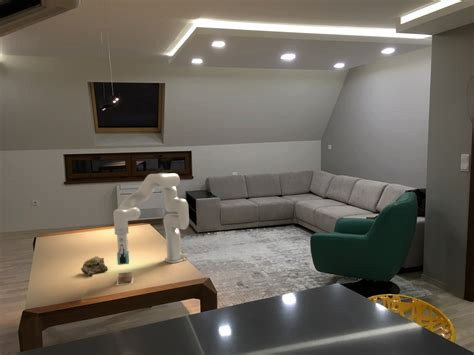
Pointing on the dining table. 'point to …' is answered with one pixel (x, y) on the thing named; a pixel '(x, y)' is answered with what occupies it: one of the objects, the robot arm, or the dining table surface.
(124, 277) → the walnut block
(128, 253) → the teal block
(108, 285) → the dining table surface
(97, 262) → the mineral specimen
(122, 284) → the grey square mat
